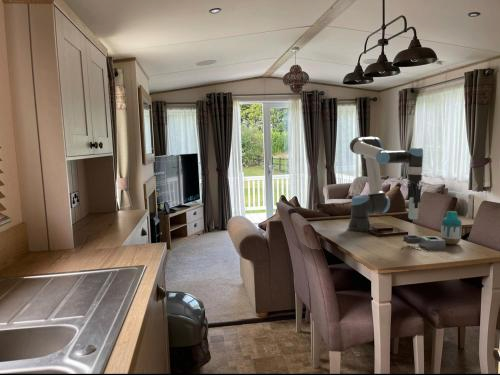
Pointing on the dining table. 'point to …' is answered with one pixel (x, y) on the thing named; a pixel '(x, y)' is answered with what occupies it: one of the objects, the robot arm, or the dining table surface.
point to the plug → (411, 215)
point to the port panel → (432, 242)
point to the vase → (451, 228)
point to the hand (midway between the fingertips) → (413, 212)
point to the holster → (411, 238)
